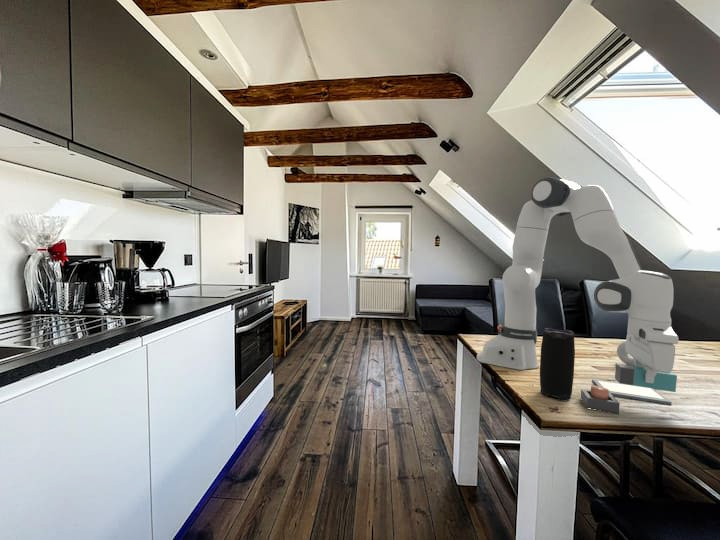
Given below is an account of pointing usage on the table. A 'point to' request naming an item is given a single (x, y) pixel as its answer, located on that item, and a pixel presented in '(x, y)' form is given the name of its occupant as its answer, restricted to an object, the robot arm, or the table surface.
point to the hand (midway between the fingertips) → (644, 378)
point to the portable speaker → (557, 363)
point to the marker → (636, 375)
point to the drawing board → (632, 391)
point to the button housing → (600, 402)
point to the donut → (624, 355)
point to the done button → (599, 392)
